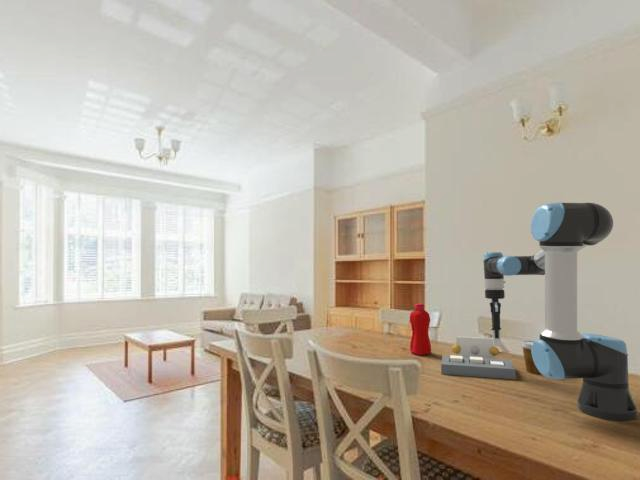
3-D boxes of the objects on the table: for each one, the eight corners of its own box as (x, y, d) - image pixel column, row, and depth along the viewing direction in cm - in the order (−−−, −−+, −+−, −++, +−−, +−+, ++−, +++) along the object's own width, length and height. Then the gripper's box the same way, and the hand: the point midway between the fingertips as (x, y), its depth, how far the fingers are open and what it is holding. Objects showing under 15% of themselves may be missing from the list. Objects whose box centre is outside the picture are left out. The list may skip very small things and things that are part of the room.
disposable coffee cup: (552, 375, 164) (551, 345, 165) (529, 375, 164) (527, 345, 165) (540, 368, 173) (539, 340, 174) (518, 368, 174) (517, 340, 174)
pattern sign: (499, 365, 180) (498, 339, 180) (452, 361, 186) (451, 336, 187) (498, 361, 186) (497, 336, 186) (452, 358, 192) (451, 334, 193)
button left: (462, 365, 170) (462, 358, 170) (450, 365, 172) (450, 357, 172) (462, 362, 175) (462, 355, 175) (450, 362, 176) (450, 355, 177)
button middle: (483, 367, 167) (483, 360, 168) (470, 366, 169) (470, 359, 169) (482, 364, 172) (482, 357, 172) (470, 363, 174) (469, 356, 174)
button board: (515, 379, 158) (515, 369, 159) (441, 373, 167) (441, 364, 168) (510, 368, 174) (510, 359, 174) (442, 364, 183) (442, 355, 183)
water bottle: (404, 352, 206) (403, 303, 207) (423, 350, 210) (422, 302, 211) (414, 356, 197) (413, 305, 199) (433, 354, 201) (432, 304, 202)
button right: (504, 372, 165) (504, 364, 165) (491, 371, 166) (490, 364, 167) (503, 369, 170) (502, 361, 170) (490, 368, 171) (490, 361, 171)
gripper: (506, 289, 162) (508, 349, 161) (502, 288, 175) (505, 343, 173) (485, 289, 165) (488, 348, 163) (483, 288, 177) (486, 342, 175)
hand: (496, 345), depth 168 cm, fingers closed
